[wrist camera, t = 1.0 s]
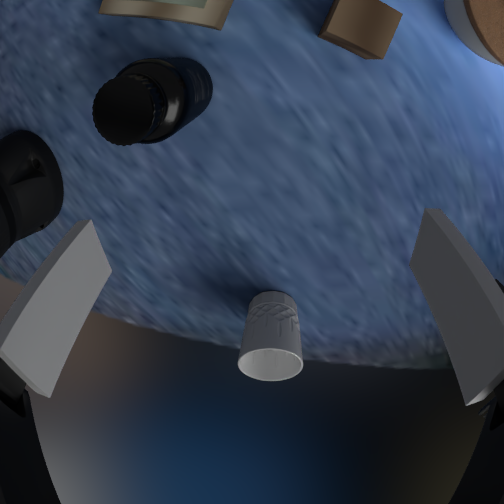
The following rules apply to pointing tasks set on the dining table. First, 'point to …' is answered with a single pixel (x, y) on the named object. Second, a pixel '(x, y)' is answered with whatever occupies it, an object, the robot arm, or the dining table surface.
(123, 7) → the plinth
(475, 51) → the lidded jar
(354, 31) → the walnut cube
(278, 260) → the dining table surface
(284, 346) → the white cup
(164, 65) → the supplement bottle
